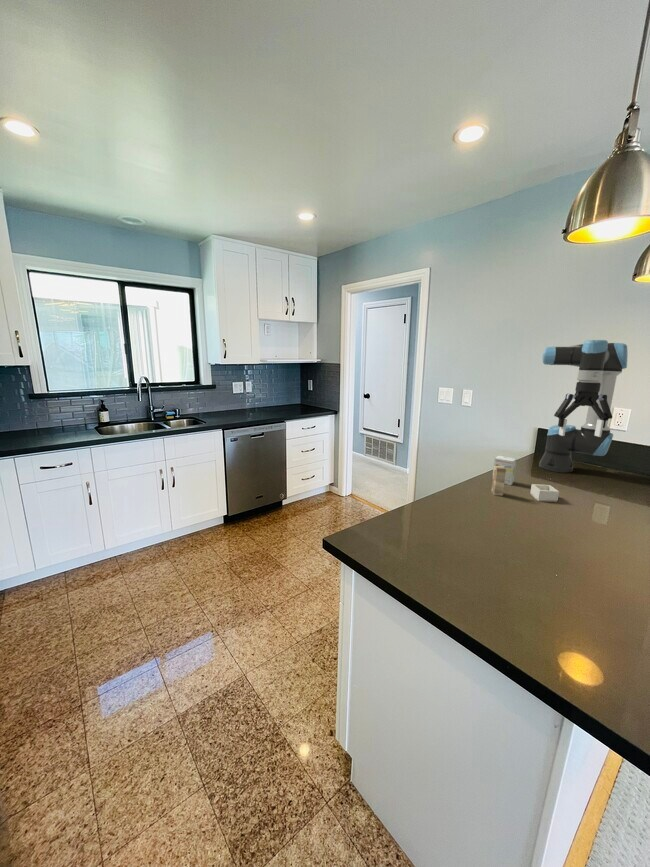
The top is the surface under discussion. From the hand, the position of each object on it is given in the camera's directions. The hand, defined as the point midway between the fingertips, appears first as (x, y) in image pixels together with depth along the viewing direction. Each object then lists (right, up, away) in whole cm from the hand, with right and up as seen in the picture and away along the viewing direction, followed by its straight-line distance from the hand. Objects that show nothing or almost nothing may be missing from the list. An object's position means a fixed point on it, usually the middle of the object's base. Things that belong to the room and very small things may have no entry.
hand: (579, 435), depth 139 cm
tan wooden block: (-26, -25, +13) cm, 39 cm away
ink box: (-17, -22, +27) cm, 39 cm away
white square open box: (-9, -26, +9) cm, 29 cm away
